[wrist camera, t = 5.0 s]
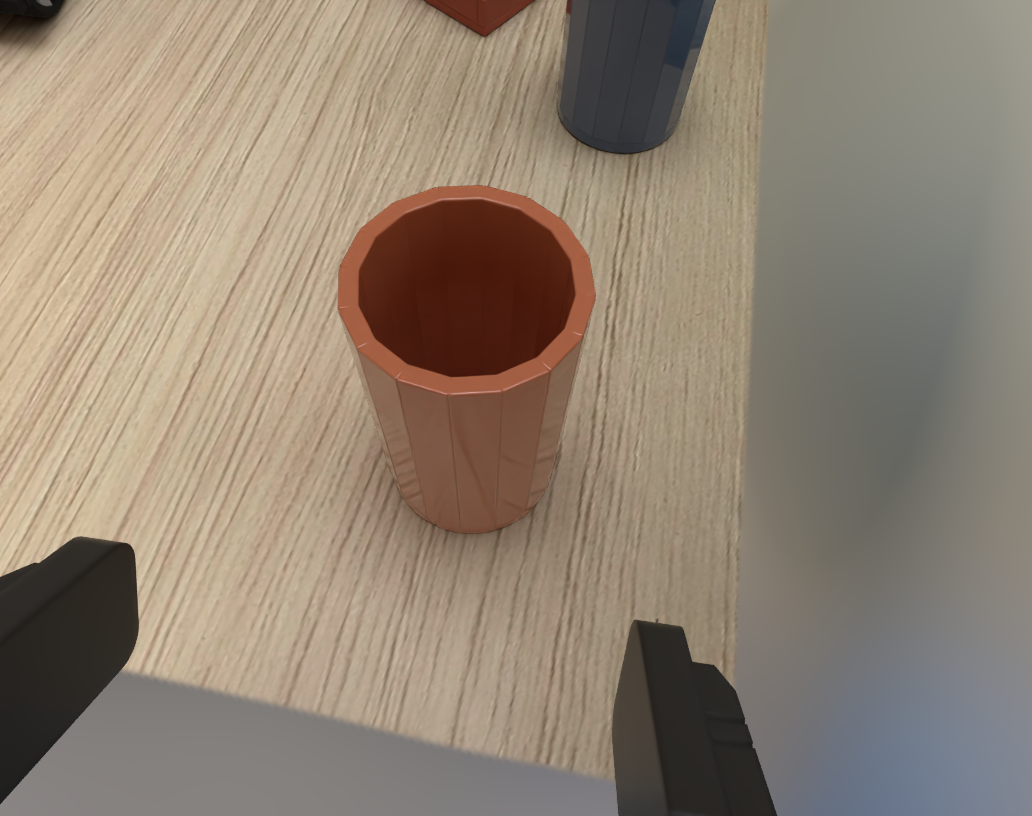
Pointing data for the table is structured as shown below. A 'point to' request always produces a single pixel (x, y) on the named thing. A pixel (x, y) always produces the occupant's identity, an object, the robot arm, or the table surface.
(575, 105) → the slate cup
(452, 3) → the rust tray
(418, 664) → the table surface
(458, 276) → the terracotta cup
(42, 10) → the toy car
